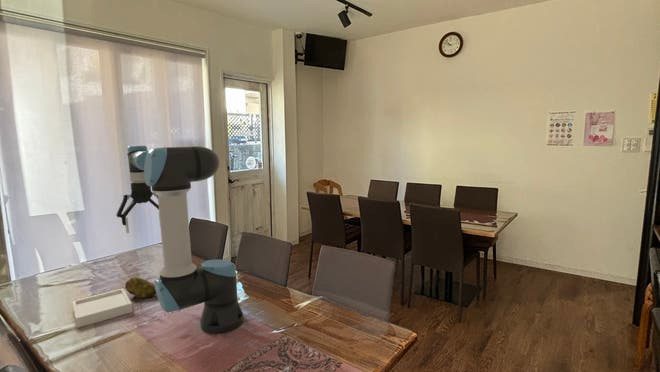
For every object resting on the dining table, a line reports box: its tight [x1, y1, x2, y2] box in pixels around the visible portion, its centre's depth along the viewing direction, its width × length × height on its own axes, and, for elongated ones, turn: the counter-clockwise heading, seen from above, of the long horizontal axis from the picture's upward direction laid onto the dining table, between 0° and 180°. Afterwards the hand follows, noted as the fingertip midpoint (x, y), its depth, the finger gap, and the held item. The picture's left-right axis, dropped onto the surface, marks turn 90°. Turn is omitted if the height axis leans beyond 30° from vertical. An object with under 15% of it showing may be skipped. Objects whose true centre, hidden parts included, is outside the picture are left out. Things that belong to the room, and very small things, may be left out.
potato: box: [125, 276, 157, 299], centre depth 155 cm, size 8×13×8 cm, turn 66°
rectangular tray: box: [71, 287, 133, 329], centre depth 143 cm, size 18×18×4 cm
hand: (144, 229), depth 158 cm, fingers open, 13 cm apart
